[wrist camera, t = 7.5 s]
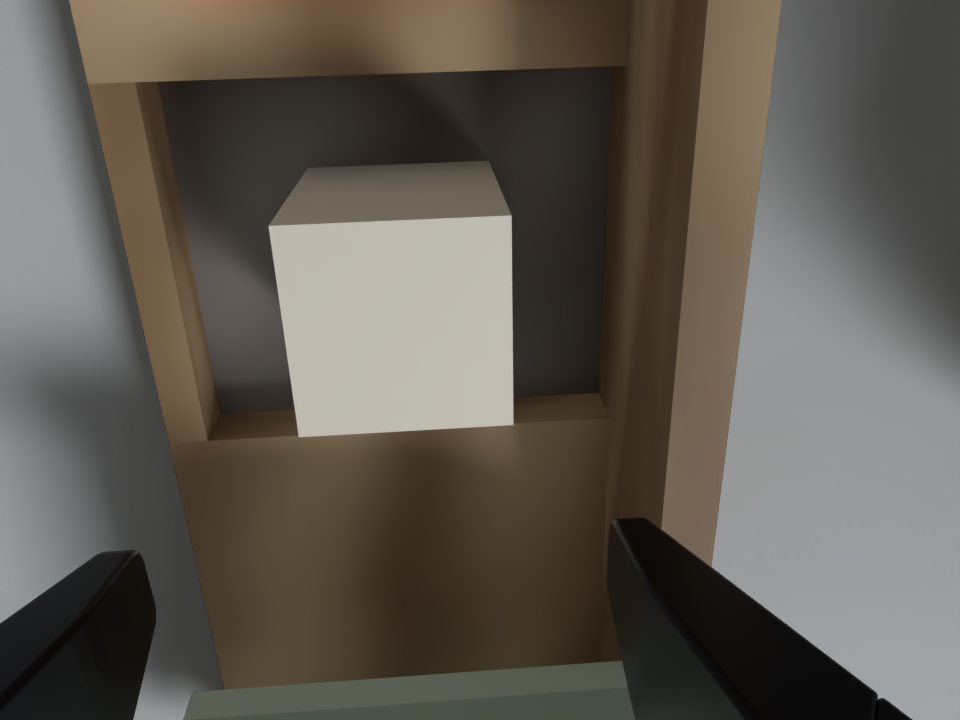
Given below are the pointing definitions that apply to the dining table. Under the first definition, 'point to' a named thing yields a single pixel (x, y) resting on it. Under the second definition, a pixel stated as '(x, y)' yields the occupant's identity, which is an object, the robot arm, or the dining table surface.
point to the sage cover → (435, 697)
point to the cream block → (396, 298)
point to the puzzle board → (535, 306)
